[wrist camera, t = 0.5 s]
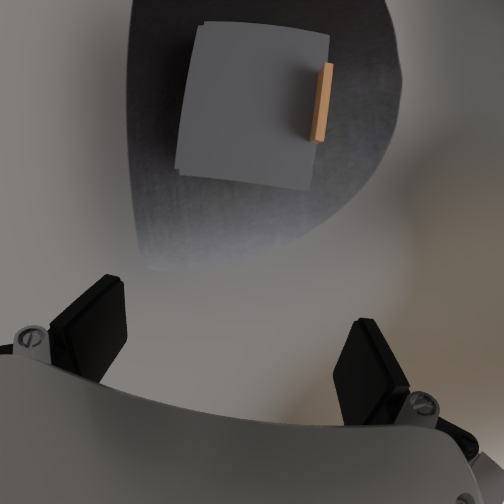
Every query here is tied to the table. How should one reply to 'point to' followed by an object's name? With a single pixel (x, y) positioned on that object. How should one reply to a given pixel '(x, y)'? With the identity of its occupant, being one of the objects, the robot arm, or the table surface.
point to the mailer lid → (254, 104)
